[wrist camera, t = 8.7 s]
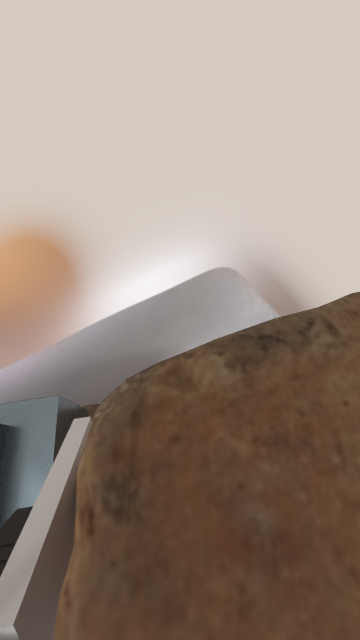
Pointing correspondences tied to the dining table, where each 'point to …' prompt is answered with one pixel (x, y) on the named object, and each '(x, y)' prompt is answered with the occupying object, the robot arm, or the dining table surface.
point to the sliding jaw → (31, 447)
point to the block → (225, 492)
